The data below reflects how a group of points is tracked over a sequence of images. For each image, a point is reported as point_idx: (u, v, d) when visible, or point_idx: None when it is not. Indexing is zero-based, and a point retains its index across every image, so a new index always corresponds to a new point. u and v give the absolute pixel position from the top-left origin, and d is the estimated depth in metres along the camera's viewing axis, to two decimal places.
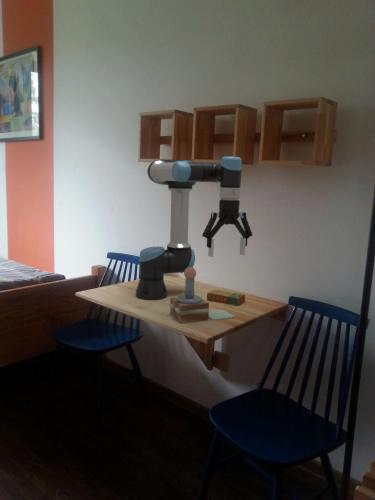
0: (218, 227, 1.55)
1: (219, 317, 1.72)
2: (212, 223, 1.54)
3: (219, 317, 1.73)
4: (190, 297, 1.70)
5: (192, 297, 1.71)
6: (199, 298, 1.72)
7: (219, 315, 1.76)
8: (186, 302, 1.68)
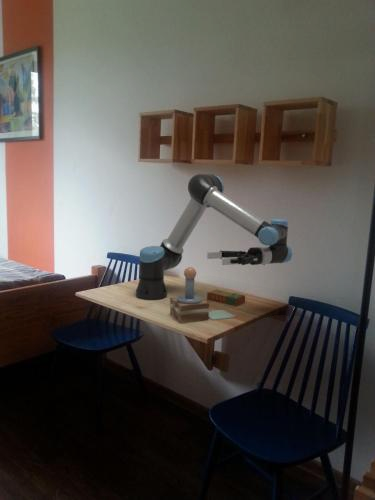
0: None
1: (219, 317, 1.72)
2: None
3: (219, 317, 1.73)
4: (190, 297, 1.70)
5: (192, 297, 1.71)
6: (199, 298, 1.72)
7: (219, 315, 1.76)
8: (186, 302, 1.68)
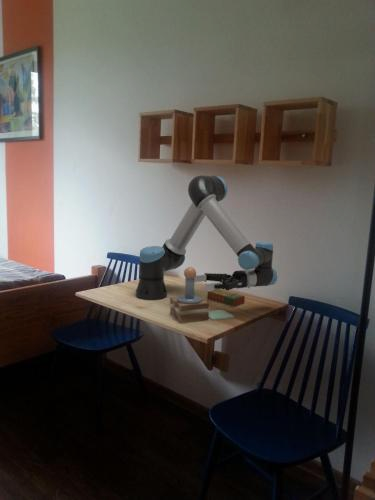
0: None
1: (219, 317, 1.72)
2: None
3: (219, 317, 1.73)
4: (190, 297, 1.70)
5: (192, 297, 1.71)
6: (199, 298, 1.72)
7: (219, 315, 1.76)
8: (186, 302, 1.68)
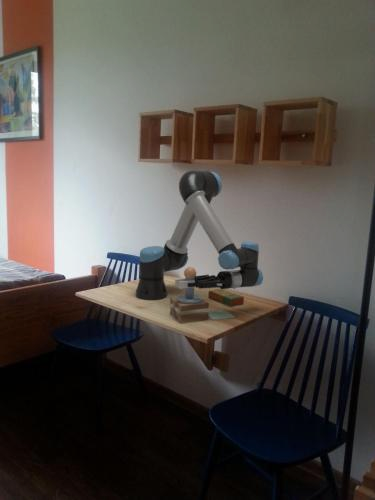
0: None
1: (219, 317, 1.72)
2: None
3: (219, 317, 1.73)
4: (190, 297, 1.70)
5: (192, 297, 1.71)
6: (199, 298, 1.72)
7: (219, 315, 1.76)
8: (186, 302, 1.68)
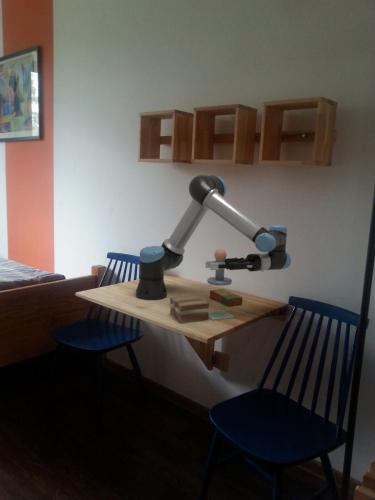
0: None
1: (219, 317, 1.72)
2: None
3: (219, 317, 1.73)
4: (220, 279, 1.72)
5: (222, 279, 1.73)
6: (229, 280, 1.74)
7: (219, 315, 1.76)
8: (217, 283, 1.69)
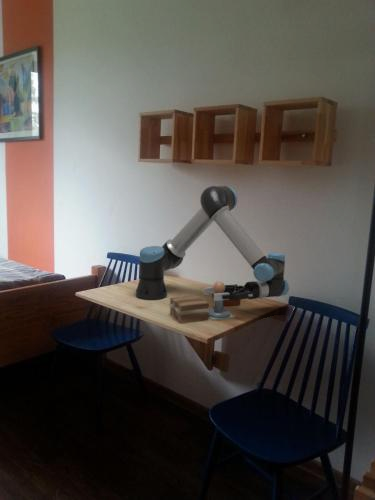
0: None
1: None
2: None
3: None
4: (219, 311, 1.75)
5: (221, 311, 1.75)
6: (228, 312, 1.76)
7: None
8: (216, 316, 1.72)
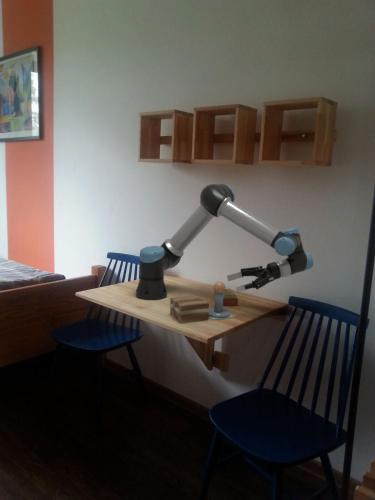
0: None
1: None
2: None
3: None
4: (219, 311, 1.75)
5: (221, 311, 1.75)
6: (228, 312, 1.76)
7: None
8: (216, 316, 1.72)
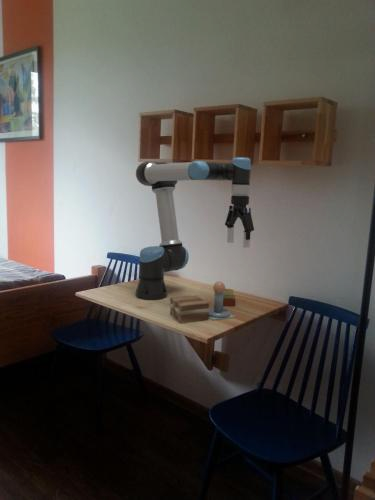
0: None
1: None
2: None
3: None
4: (219, 311, 1.75)
5: (221, 311, 1.75)
6: (228, 312, 1.76)
7: None
8: (216, 316, 1.72)
